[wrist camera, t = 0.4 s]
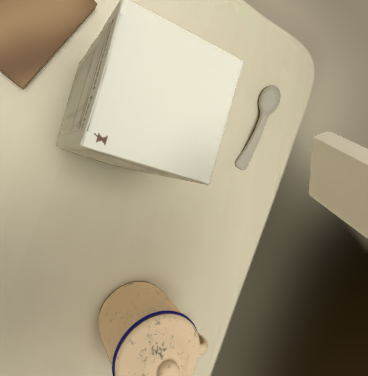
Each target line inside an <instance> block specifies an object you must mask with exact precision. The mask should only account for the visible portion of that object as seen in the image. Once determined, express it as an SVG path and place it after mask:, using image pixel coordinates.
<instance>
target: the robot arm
mask: <svg viewBox="0 0 368 376" xmlns="http://www.w3.org/2000/svg"><path fill="white" fill-rule="evenodd" d="M309 195H310V196H311V197H313V198H314V199H315V200H317V201H318V202H319V203H321V204H322V205H323V206H325V207H326V208H327V209H329V210H330V211H331V212H333V213H334V214H335V215H337V216H338V217H339V218H341V219H342V220H343V221H345V222H346V223H347V224H349V225H350V226H351V227H353V228H354V229H355V230H357V231H358V232H360V233H361V234H362V235H364V236H365V237H366V238H368V149H366V148H364V147H362V146H360V145H358V144H356V143H354V142H351V141H349V140H347V139H345V138H343V137H340V136H339V135H336V134H334V133H332V132H329V131H328V132H325V133H322V134H319V135H316V136H313V139H312V156H311V171H310V186H309Z"/></svg>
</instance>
